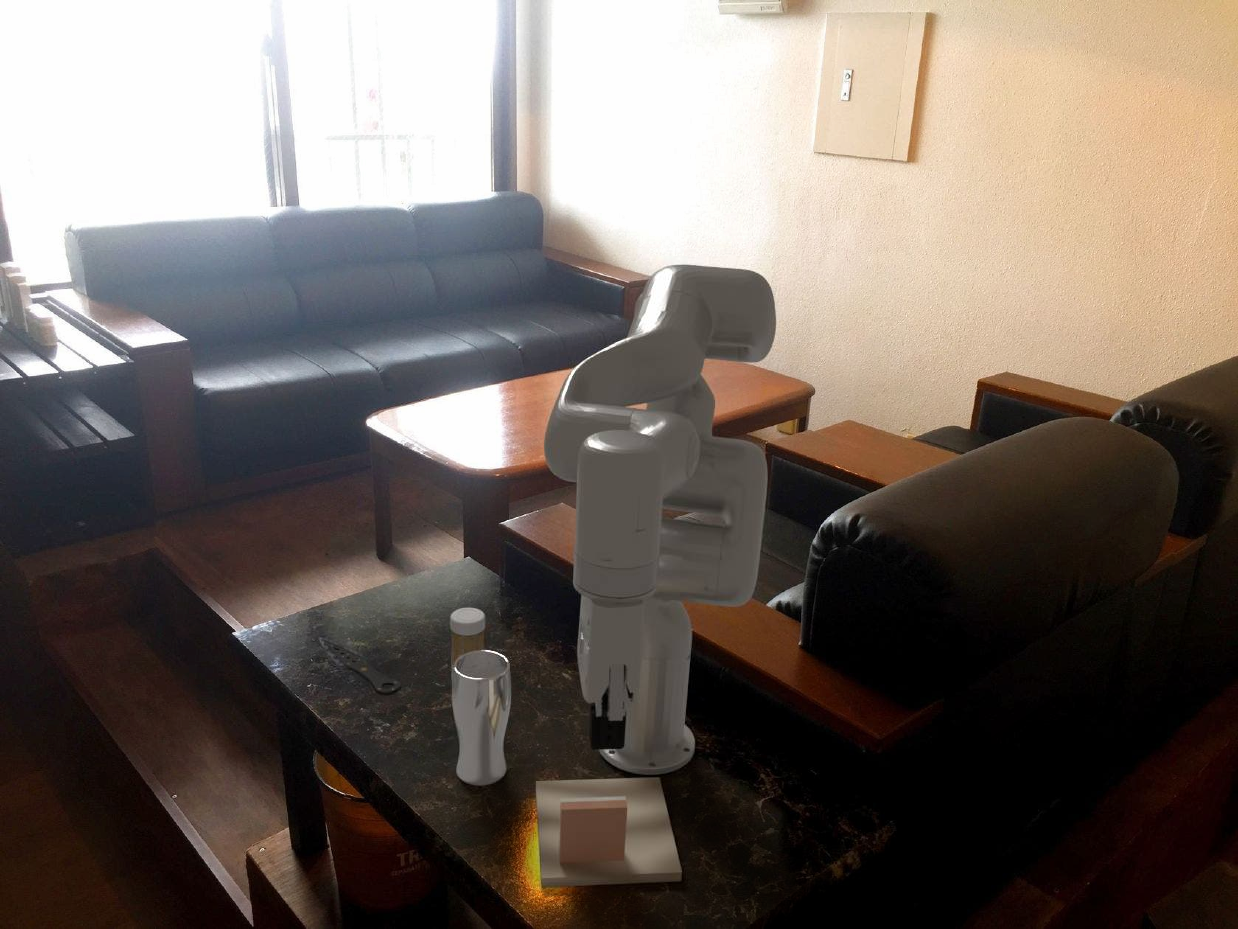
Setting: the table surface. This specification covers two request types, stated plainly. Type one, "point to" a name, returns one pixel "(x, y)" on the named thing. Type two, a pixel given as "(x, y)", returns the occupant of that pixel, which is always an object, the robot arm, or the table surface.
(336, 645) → the throwing knife
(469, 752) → the beer glass
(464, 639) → the sprinkles bottle
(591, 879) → the board
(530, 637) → the table surface
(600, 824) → the tile
